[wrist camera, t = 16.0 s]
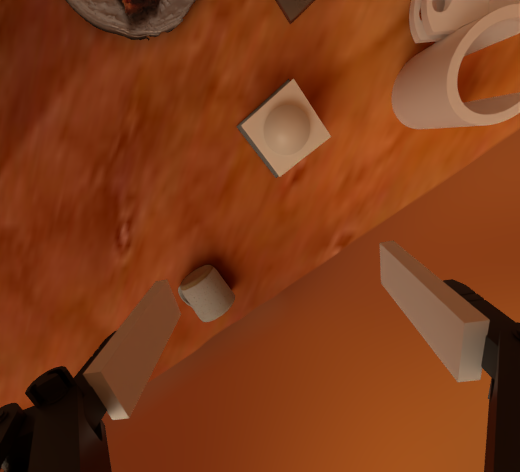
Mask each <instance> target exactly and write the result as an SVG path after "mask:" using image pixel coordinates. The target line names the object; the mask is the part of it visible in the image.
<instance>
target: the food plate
mask: <svg viewBox="0 0 520 472" xmlns="http://www.w3.org/2000/svg"><path fill="white" fill-rule="evenodd" d="M66 1H67V3H68V4H69V5H70V6H71V7H72V8H73V9H74V10H75V11H76V12H77V13H78V14H79V15H80V16H81V17H83V18H84V19H85V20H86V21H88V22H89V23H90V24H92V25H93V26H95V27H96V28H98V29H102V30H103V31H106V32H111V33H114V34H118V35H121V36H125V37H127V38H129V39H131V40H132V39H133V40H136V39H139V40H142V39H145V38H146V39H148V40H149V38H147V37H146V36H147V35H149V36H153V37H156V36H158V35H159V34H160V33H161V32H163V31H165V32H170V31H172V30H173V29H174V28H175V27H177V25H178V24H180V21H181V20H184V19H182V18H183V17H184V16H185V15H186V13H187V12H188V10H189V8H190V7H191V5H192V4H193V2H194V1H195V0H66ZM181 22H182V21H181Z"/></svg>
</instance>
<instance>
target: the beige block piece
mask: <svg viewBox="0 0 520 472" xmlns="http://www.w3.org/2000/svg"><path fill="white" fill-rule="evenodd" d="M241 126H242V128H243V129H244V130H245V132H246V133H247V134H248V136H249V137H250V138H251V140H252V141H253V142H254V144H255V145H256V146H257V148H258V149H259V150H260V152H261V153H262V154H263V156H264V157H265V158H266V160H267V161H268V162H269V164H270V165H271V166H272V168H273V169H274V170H275V171H276V173H277V174H278V175H279V177H280V176H281V175H283V174H284V173H285V172H287V171H288V170H289V169H290V168H292V167H293V166H294V165H296V164H297V163H298V162H299V161H301V160H302V159H303V158H304V157H306V156H307V155H308V154H310V153H311V152H312V151H313V150H315V149H316V148H317V147H318V146H320V145H321V144H322V143H324V142H325V141H326V140H327V139H329V138H330V137H331V136H330V134H329V133H328V131H327V130H326V128H325V127H324V125H323V123H322V122H321V120H320V119H319V117H318V116H317V114H316V113H315V111H314V109H313V108H312V106H311V105H310V103H309V102H308V100H307V99H306V97H305V95H304V94H303V92H302V91H301V89H300V88H299V86H298V85H297V83H296V81H295V80H294V78H293V79H292V80H291V81H290V82H289V83H288V84H287V85H286V86H285V87H283V88H282V89H281V90H280V91H279V92H278V93H277V94H276V95H275V96H273V97H272V98H271V99H270V100H269V101H268V102H267V103H266V104H264V105H263V106H262V107H261V108H260V109H259V110H258V111H257V112H256V113H254V114H253V115H252V116H251V117H250V118H249V119H248V120H247V121H245V122H244V123H243V124H242V125H241Z"/></svg>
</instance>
